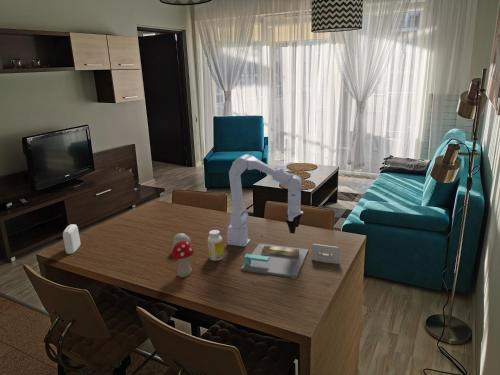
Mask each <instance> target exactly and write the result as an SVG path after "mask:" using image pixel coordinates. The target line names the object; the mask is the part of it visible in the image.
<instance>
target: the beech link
mask: <svg viewBox="0 0 500 375" xmlns="http://www.w3.org/2000/svg"><path fill="white" fill-rule="evenodd" d="M270 245H271V244H268V245H263V246H262V253H265V254H268V253H271V254H279V255H287V256H294V257H298V255H299V249H291V248H283V247H274V246H270Z"/></svg>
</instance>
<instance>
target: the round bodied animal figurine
mask: <svg viewBox="0 0 500 375" xmlns="http://www.w3.org/2000/svg"><path fill="white" fill-rule="evenodd" d="M191 237H192V236H191V235H190V236H188V235H187V234H185V233H183V232H179V233H177V234H176V235H175V236H174V237H173V242H172V243H173V245H172V247H171V251H172V250H173V248H174V246H175V244H176V243H178V242H179V241H188V242H189V243H190V244H191Z"/></svg>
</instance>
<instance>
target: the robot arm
mask: <svg viewBox="0 0 500 375" xmlns="http://www.w3.org/2000/svg"><path fill="white" fill-rule="evenodd" d="M231 163H232V165H231V166H230V169H229V171H228V178H229V185H230V193H231V202H232V209H231V212H230V219H229V223H230V224H229V225H228V227H227V232H226V233H227V245H228V246H229V245H230V246H237V247H238V246H239V247H246V246H247V245H248V244H249V242H250V241H251V238H248V222H247V221H248V220H249V213H248V211H247V208H246V207H245V205H244V197H243V196H244V195H243V187H242V186H243V184H242V177H241V175H242V174H243V173H244V172H245V171H246V170H248V171H251V170H257V171H259V172H262V173H265V174H267V175H269V176H271V178H272V180H274V181H276V182H277V183H279V184H280V185H281V184H282V185H283V186H285V187H286V188H287V191H288V192H287V215H288V217H286V218H285V222H286V224H287V226H288V231H289V234H294V235H295V233H296V228H299V225H300V222H301V221H300V220H301V217H302V215H303V214H304V211H302V210H301V208H302V207H301V205H302V203H301V201H302V200H301V198H302V192H301V186H302V183H303V181H302V180H303V179H302V178H301V177H300V175H298V174H293V173H289V172H287V171H285V168H282V167H281V168H280V167H278V168H274V167H272V166H270V165H269V164H266V163H265V162H263V161H261V160H260V159H258V158H256V157H255V156H254V155H251V154H249V153H245V154H243V155H241V156H240V157H237V158H236V159H235V160H234V161H232V162H231Z"/></svg>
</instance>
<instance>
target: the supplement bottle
mask: <svg viewBox="0 0 500 375" xmlns="http://www.w3.org/2000/svg"><path fill="white" fill-rule="evenodd" d="M208 235H209V236H208V237H207V250H208V259H209V260H210V261H214V262H215V261H221V260H222V259H223V258H224V247H223V237H222V236H221V234H220V230H218V229H212V230H210V231H209V232H208Z"/></svg>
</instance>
